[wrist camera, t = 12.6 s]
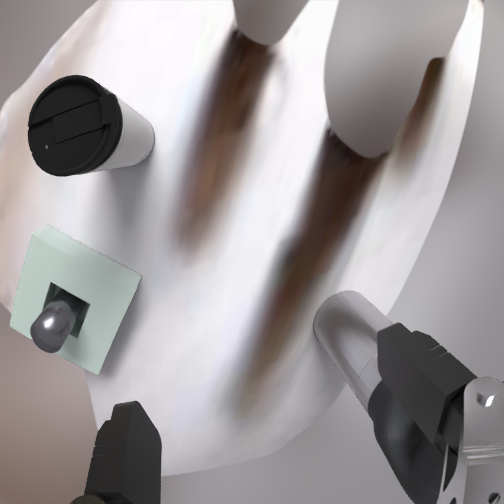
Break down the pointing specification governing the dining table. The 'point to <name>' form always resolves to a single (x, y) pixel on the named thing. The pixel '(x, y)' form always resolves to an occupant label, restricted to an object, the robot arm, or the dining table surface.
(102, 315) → the socket block
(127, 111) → the travel mug
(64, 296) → the pin
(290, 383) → the dining table surface
